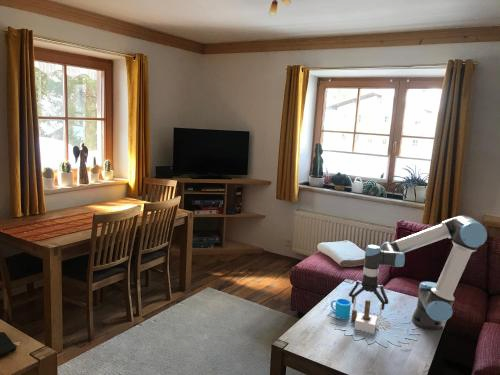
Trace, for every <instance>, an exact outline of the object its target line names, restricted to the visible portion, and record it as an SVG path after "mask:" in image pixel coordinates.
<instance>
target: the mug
mask: <svg viewBox="0 0 500 375" xmlns="http://www.w3.org/2000/svg"><path fill="white" fill-rule="evenodd" d="M333 303H335V307H334V305H333ZM351 305H352V301H350V300H349V299H346V298H338V299H336V300H332V301H331V302H330V307H331V309H332V310H333V312H334V315H336V316H337V317H336V316H335V317H336V318H338V317H339V318H338V319H341V318H343V319H342V320H347V318H348V319H350V317H351Z"/></svg>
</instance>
